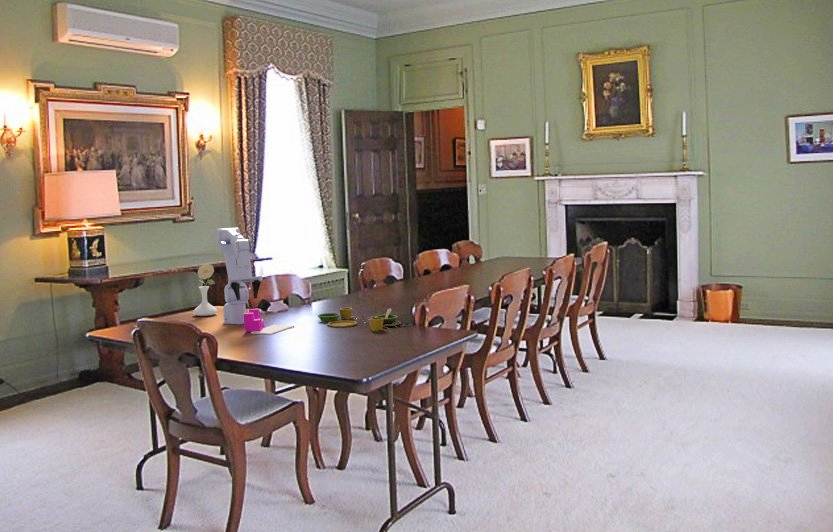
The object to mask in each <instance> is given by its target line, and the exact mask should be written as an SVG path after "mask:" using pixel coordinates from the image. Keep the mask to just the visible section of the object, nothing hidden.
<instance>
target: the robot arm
mask: <svg viewBox="0 0 833 532" xmlns="http://www.w3.org/2000/svg"><path fill="white" fill-rule="evenodd" d="M215 233H216V234H215V235H216V236H215V237H216V242H217V246H218V249H220V250H222V254H223V256H224V257H223V258H224V263H225V267H226V273H227V278H228V280H227V282H228V283H227V284H226V285H225V286H224V289H223V291H224V300H225V302H226V303H225V304H224V305H223V309H222V310H223V313H222V314H223V322H222V324H227V325H242V324H243V325H244V315H243V314H244V313H247V311H246V304H247V302H248V300H249V299H250V292H249V288H248V286H247V284H246V283H250V282H251V285H252V290H253V292H252V293H253V299H258V293H259V289H260V287H261V284H262V281H263V276H262V275H257V276H253V275H252V261H251V251H252V242H251V239H250V238H247V239H246V238H245V237H244V236H243V235H242V234H241V230H240V228H239V227H224V228H222V227H221V228H217V229H216V232H215Z"/></svg>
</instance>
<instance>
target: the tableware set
mask: <svg viewBox="0 0 833 532" xmlns="http://www.w3.org/2000/svg"><path fill="white" fill-rule="evenodd" d="M353 310H354V309H353V308H352V307H341V308H339V313H338V312H337V313H336V312H327V313H326V312H324V313H319V314H317V317H318V318H319V319H320V321H321V322H322V323H327V326H329V327H331V328H350V327H354V326H356V325H357V324H358V322H357V321H356V320H357V318H358V317H357V318H356V319H355V321H354V320H351V319H352V317H353V316H352V315H353ZM392 310H393V309H392V308H388V309H387V311H386V313H385V314H380V315H375V316H374V317H375V318H370V317H369V318H370V319H368V322H370V323H369V326H370V331H371V330H372V331H371V332H379V331H378V330H382V331H383V328H385V327H384V326H395V325H399V324H400V325H401V324H402V322H401V321H399V320H397V319H399V316H398V315H396V314H391V313H392ZM339 318H340V319H341V320H338V319H339ZM344 319H346V320H344ZM394 322H398V324H393V325H385V324H392V323H394ZM365 323H366V321H365V322H364V324H365ZM400 325H399V326H400ZM395 327H396V326H395Z"/></svg>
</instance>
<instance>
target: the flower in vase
mask: <svg viewBox="0 0 833 532" xmlns="http://www.w3.org/2000/svg"><path fill="white" fill-rule="evenodd" d="M214 272H215V269H214V266H213V265H212V264H211V263H210V264H209V263H204V264H203V265H200V266H199V267H198V270H197V275H198V278H199V279H198V281H199V282H201V283H202V284H204V285H203V286H202V285H201V286H198V289H199V290H200V294H201V302H200V304H199V305H198V306H197V307H195V309H194V310H193V311H192V314H193V315H195V316H199V317H206V316H207V317H208V316H214V315H216V314H217V313H218V309H217V308H216V307H215V306H213V305H212V304H211V303H209V302H208V290H209V288H210V286H211V285H215V284H216V282H215V281H214V280H213V279H210V278H211V277H212V276H213V274H214ZM200 279H202V280H207V281H206V283H205V282H204V281H202V280H200ZM207 285H208V286H207ZM209 285H210V286H209Z"/></svg>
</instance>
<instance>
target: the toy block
mask: <svg viewBox="0 0 833 532" xmlns="http://www.w3.org/2000/svg"><path fill="white" fill-rule="evenodd" d="M243 315H244V323H243V325H244V332H245V333H249V332H250V333H251V332H253V331H260V330H261V329H263V328H265V320H264V318H261V317H260V308H250V309H249V312H246V313H244V314H243Z"/></svg>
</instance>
